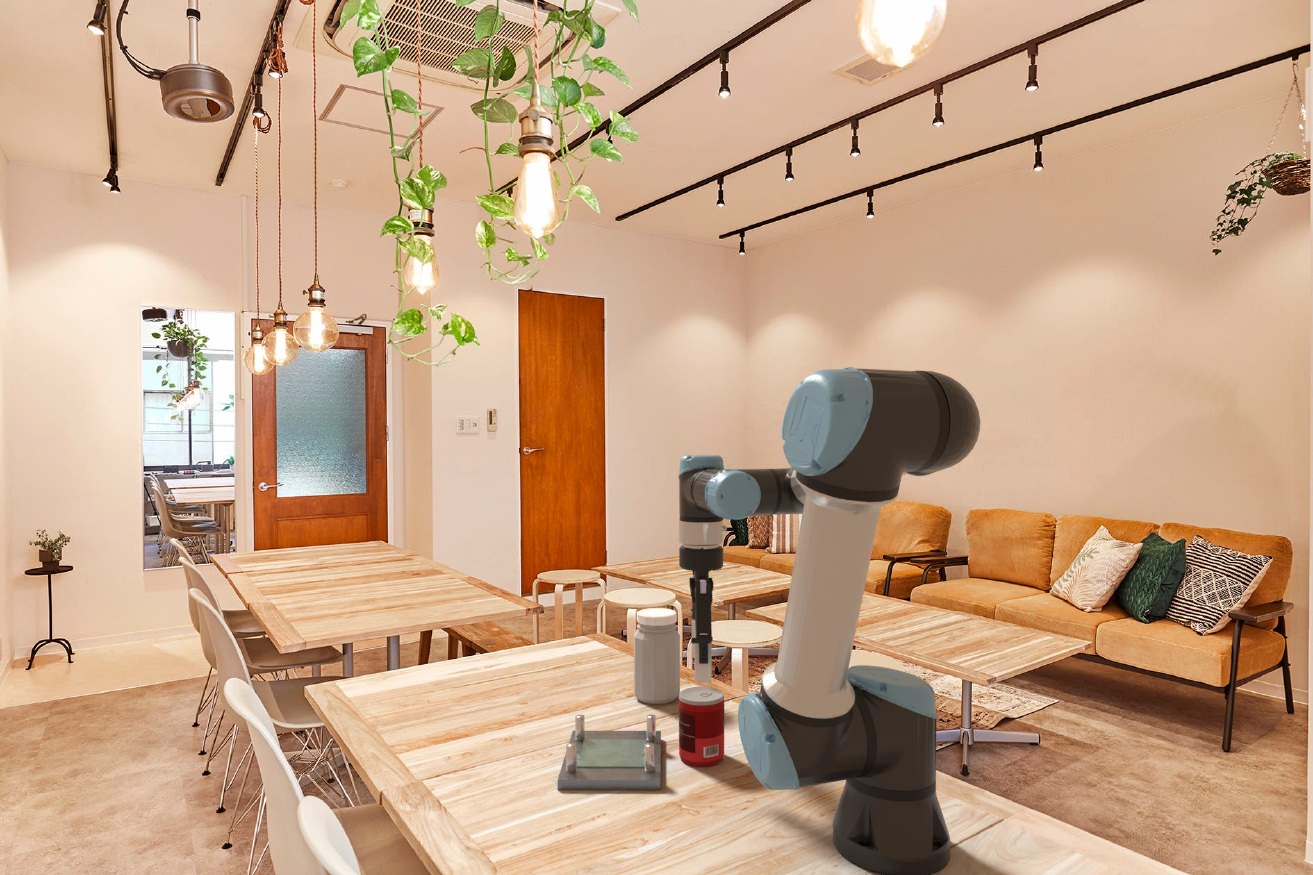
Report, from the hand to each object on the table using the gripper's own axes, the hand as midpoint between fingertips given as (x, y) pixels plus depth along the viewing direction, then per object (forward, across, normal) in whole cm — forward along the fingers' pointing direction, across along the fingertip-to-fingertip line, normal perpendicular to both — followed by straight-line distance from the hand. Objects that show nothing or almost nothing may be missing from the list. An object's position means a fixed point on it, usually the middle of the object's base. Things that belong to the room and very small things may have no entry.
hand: (701, 669), depth 132 cm
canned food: (+15, 0, 0) cm, 15 cm away
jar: (+16, +30, +8) cm, 34 cm away
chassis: (+15, -2, +15) cm, 21 cm away
